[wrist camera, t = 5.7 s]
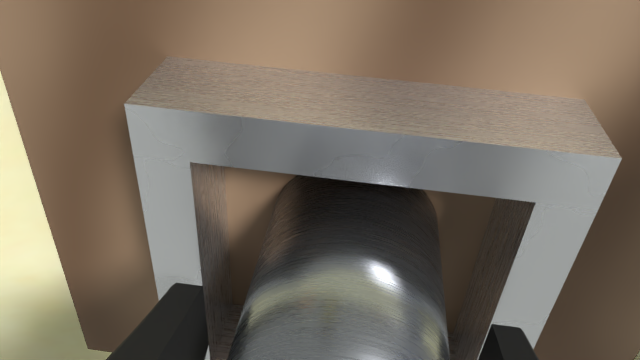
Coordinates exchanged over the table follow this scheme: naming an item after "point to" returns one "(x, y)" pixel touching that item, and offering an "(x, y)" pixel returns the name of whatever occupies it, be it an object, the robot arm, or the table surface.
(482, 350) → the robot arm
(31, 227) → the table surface
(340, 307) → the cylinder
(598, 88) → the walnut base plate
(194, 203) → the square metal frame
